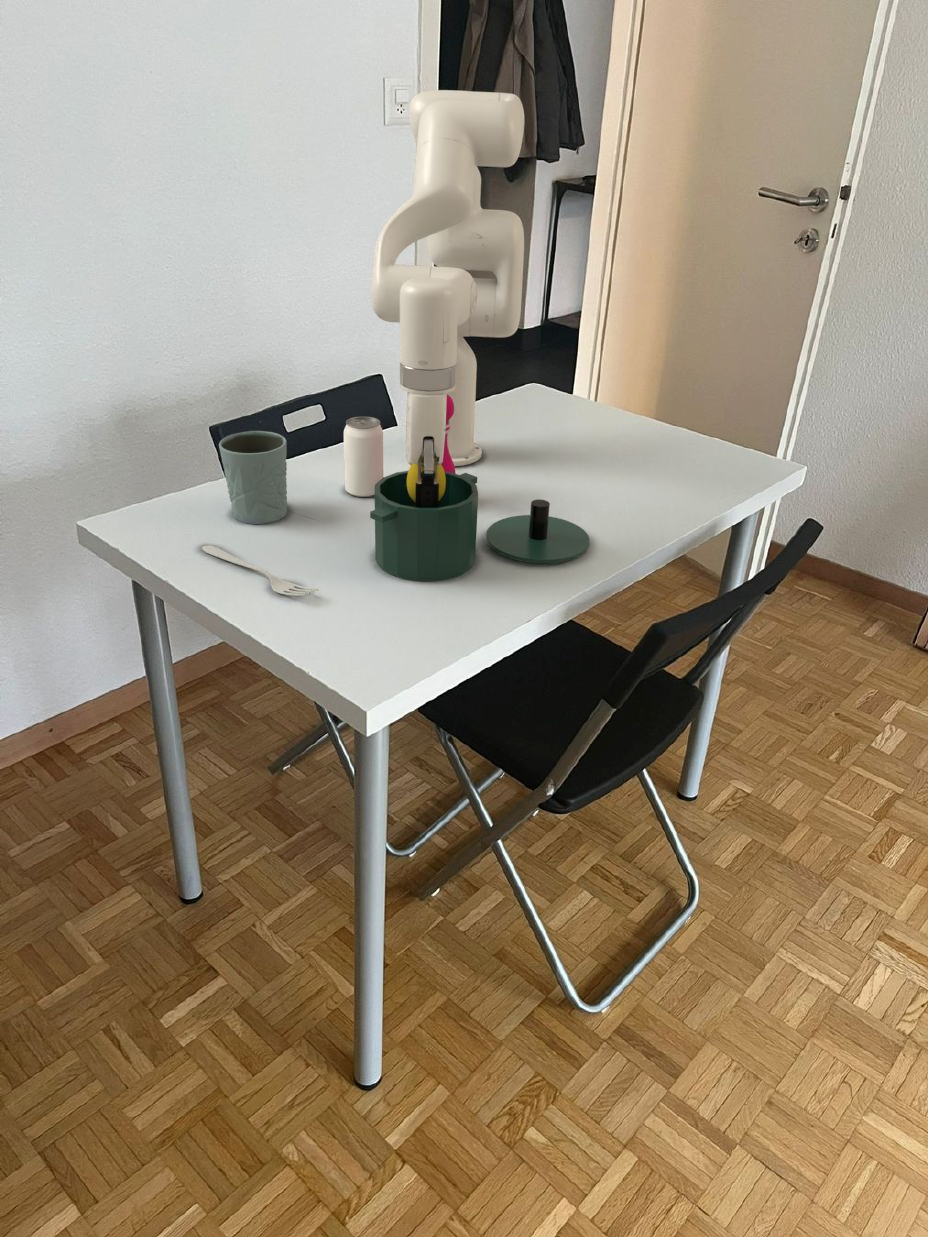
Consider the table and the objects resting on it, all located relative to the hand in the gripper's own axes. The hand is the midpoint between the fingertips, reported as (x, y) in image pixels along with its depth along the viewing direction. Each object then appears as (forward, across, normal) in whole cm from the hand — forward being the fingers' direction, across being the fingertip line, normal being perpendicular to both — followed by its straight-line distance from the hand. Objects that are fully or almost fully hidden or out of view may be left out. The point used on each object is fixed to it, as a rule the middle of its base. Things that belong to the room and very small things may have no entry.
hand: (426, 499), depth 139 cm
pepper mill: (+10, -21, +2) cm, 23 cm away
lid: (+9, -5, +17) cm, 20 cm away
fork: (+10, +5, -24) cm, 26 cm away
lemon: (+2, 0, 0) cm, 2 cm away
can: (+10, -25, -9) cm, 28 cm away
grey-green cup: (+10, -16, -26) cm, 32 cm away
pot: (+9, 0, 0) cm, 9 cm away
